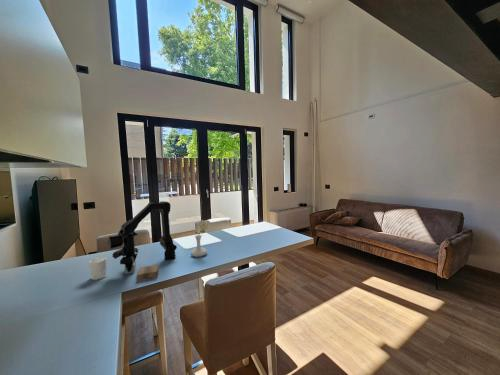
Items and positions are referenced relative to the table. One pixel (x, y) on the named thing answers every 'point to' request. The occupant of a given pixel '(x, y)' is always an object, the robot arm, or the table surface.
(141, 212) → the robot arm
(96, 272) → the white cup
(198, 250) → the flower in vase
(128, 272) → the gray cube
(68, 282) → the table surface
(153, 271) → the tan block
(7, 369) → the table surface
